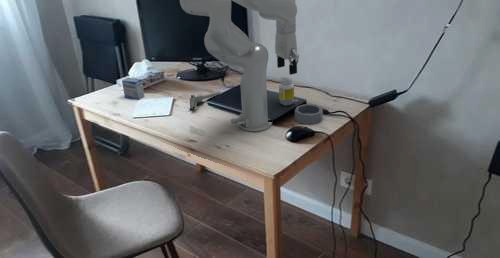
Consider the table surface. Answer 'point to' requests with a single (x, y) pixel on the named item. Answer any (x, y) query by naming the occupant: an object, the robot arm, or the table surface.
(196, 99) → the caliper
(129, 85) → the medicine box
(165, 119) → the table surface
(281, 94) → the pill bottle
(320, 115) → the socket cup
